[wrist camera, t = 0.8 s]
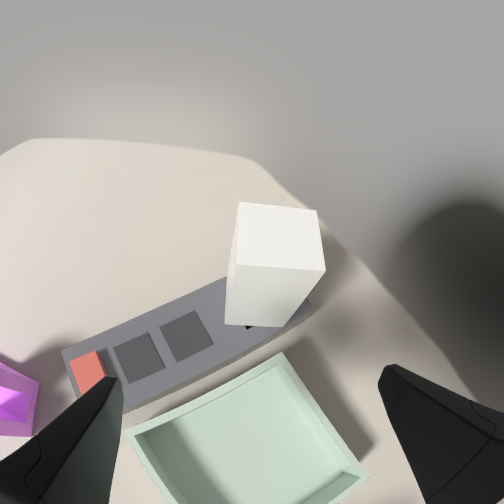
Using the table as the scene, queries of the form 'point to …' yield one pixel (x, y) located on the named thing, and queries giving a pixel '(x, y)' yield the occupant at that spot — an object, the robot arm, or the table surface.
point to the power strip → (169, 347)
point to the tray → (248, 445)
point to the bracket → (17, 402)
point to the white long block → (272, 264)
